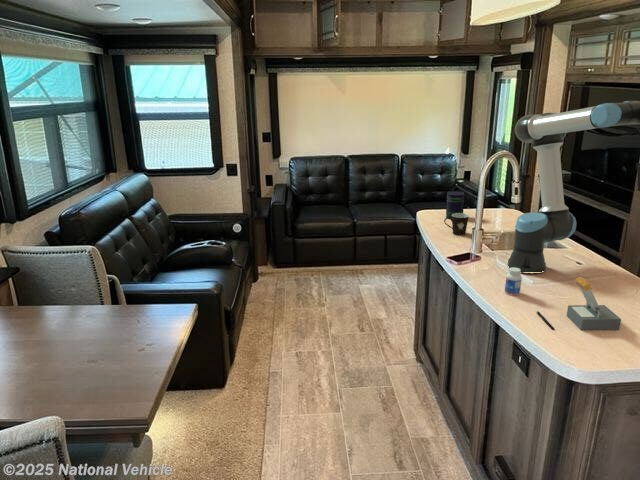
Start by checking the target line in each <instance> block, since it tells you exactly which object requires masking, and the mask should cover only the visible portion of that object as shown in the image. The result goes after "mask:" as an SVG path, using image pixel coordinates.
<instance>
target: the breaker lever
mask: <svg viewBox="0 0 640 480" xmlns="http://www.w3.org/2000/svg"><path fill="white" fill-rule="evenodd" d="M574 281H575V282H576V285H577V286H578V287H579V289H580V291H581V294H582V295H583V297H584V300H585V302H586V303H588V306H589V307H590V308H591V309H592V310H593V311H594V312H595V313H597V314H598V310H601V309H600V308H599V305H600V304H598V301H597V300H596V297H595V295H594V293H593V291H592V288H593V287H592V286H591V284H590V283H589V282H588V281H587V280H585V278H583V276H579V277H577V278H575V279H574Z"/></svg>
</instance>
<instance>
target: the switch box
mask: <svg viewBox="0 0 640 480" xmlns="http://www.w3.org/2000/svg"><path fill="white" fill-rule="evenodd" d="M598 305H599V308H600V309H601V310H598V314H597V313H595V312H594V311H593V310H592V309H591V308H590V307H589V306H588V303H587V302H586V303H585V304H582V305H581V304H578V305H577V304H575V305H572V304H571V305H569V304H568V306H567V310H566V317H567V318H568V319H569V320H570V321H571V322H572V323H573V325H575V326H576V327H577V328H578V329H579V330H580V331H582V332H583V331H620V328H621V323H622V318H621V317H619V316H618V315H617V314H616V313H615V312H614V311H612V310H611V309H610V308H609V307H608V306H607V305H605V304H598Z"/></svg>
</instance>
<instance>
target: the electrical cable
mask: <svg viewBox="0 0 640 480" xmlns="http://www.w3.org/2000/svg"><path fill="white" fill-rule="evenodd" d="M535 312H536V314H537V316H539V317H540V319H541V320H542V321H543V322H544V323H545V325H547V326H548V327H549V328H550V329H551V330H553V331H554V330H555V327H554V326H553V325H552V324H551V323H550V322H549V321H548V320H547V318H546V317H545V316H544V315H543V314H541V313H540V311H535Z"/></svg>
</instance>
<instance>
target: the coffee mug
mask: <svg viewBox="0 0 640 480" xmlns="http://www.w3.org/2000/svg"><path fill="white" fill-rule="evenodd" d="M469 217H470V215H469V214H466V213H464V212H463V213H456V214H452V219H451V218H446V217H445V219H444V224H445V225H446V226H447V227H449V228H450V229H452V234H453V235H454V236H465V235H466V233H467V228H468V227H467V226H468V224H469V223H468V221H469ZM446 220H450V221H451V223H452V226H450V225H449V224H448V223H446Z"/></svg>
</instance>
